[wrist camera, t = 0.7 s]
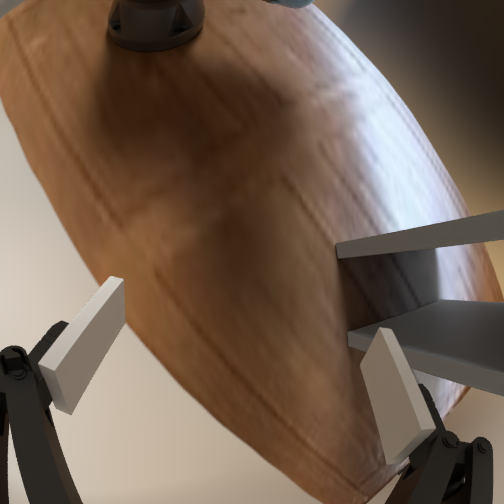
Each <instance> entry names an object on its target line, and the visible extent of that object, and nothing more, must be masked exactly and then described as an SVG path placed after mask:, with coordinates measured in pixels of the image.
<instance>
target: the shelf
mask: <svg viewBox="0 0 504 504" xmlns="http://www.w3.org/2000/svg"><path fill="white" fill-rule="evenodd" d="M503 239H504V210H500V211H496V212H491V213H486V214H481V215H477V216H471V217H466V218H461V219H456V220H452V221H447V222H442V223H437V224H432V225H427V226H422V227H417V228H412V229H407V230H402V231H397V232H392V233H387V234H382V235H376V236H371V237H366V238H361V239H356V240H351V241H346V242H341V243H336V249H337V255H338V259H339V258H348V257H358V256H367V255H376V254H386V253H395V252H404V251H412V250H421V249H430V248H438V247H447V246H455V245H464V244H472V243H480V242H488V241H495V240H503ZM379 327H381V328H388V329H392V331H393V333H394V335H395V337H396V339H397V341H398V343H399V345H400V347H401V349H402V351H403V354H404V356H405V358H406V360H407V362H408V364H409V366H410V368H413V369H416V370H419V371H422V372H425V373H428V374H431V375H434V376H437V377H440V378H443V379H447V380H450V381H453V382H456V383H459V384H463V385H466V386H469V387H473V388H476V389H480V390H483V391H487V392H490V393H494V394H498V395H501V396H504V302H481V301H461V300H444V299H441V300H439V301H436V302H434V303H431V304H428V305H426V306H423V307H420V308H418V309H415V310H412V311H409V312H407V313H404V314H401V315H398V316H395V317H392V318H390V319H387V320H384V321H381V322H378V323H375V324H371V325H368V326H365V327H362V328H359V329H356V330H352V331H349V332H347V335H348V346H350V347H353V348H356V349H358V350H361V351H364V352H367V351H368V349H369V347H370V345H371V343H372V341H373V339H374V337H375V335H376V333H377V331H378V329H379Z"/></svg>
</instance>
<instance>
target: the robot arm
mask: <svg viewBox="0 0 504 504" xmlns="http://www.w3.org/2000/svg"><path fill="white" fill-rule="evenodd" d="M263 1H266V2H267V3H271V4H279V5H282V6H286V7H289V8H295V9H296V8H303V7H305V6H307V5H309V4H311V3H312V2H313V1H315V0H263ZM204 16H205V6H204V3H203V0H113V3H112V6H111V9H110V13H109V16H108V27H109V33H110V36H111V38H112V39H113V40H114V41H115V42H116V43H117V44H118V45H120V46H122V47H124V48H127V49H130V50H134V51H143V52H151V51H161V50H166V49H170V48H173V47H176V46H179V45H181V44H183V43H185V42H187V41H189V40H190V39H192V38H193V37H194V36H195V35H196V34H197V33H198V32H199V31H200V29H201V27H202V25H203V21H204ZM124 324H125V304H124V279H121V278H117V277H113V276H110V277H109V278H108V279H107V280H106V281H105V283H104V284H103V285H102V286H101V287H100V288H99V289H98V290H97V292H96V293H95V294H94V295H93V296H92V297H91V299H90V300H89V301H88V302H87V303H86V304H85V306H84V307H83V308H82V309H81V311H80V312H79V313H78V314H77V315H76V316H75V318H74V319H73V320H72V321H71V322H70V323H67V322H64V321H60V322H58V323H56V324H55V325H53V326H52V327H51V328H50V329H49V330H48V331H47V333H46V335H44V336H43V338H42V339H41V340H40V341H39V342H38V343H37V345H36V346H35V347H34V348H33V350H32V351H31V352H30V353H29V354H28V355H27V353H26V351H25V350H24V349H23V348H22V347H20V346H9V347H6V348H4V349H3V350H2V351H1V352H0V504H9V497H8V463H7V461H8V436H9V422H10V428H11V434H12V439H13V444H14V448H15V453H16V458H17V462H18V465H19V470H20V473H21V477H22V481H23V484H24V488H25V491H26V494H27V497H28V500H29V503H30V504H83V503H82V501H81V498H80V496H79V494H78V492H77V489H76V487H75V485H74V482H73V479H72V477H71V474H70V472H69V469H68V466H67V463H66V461H65V458H64V455H63V452H62V449H61V446H60V443H59V440H58V437H57V433H56V430H55V426H54V423H53V419H52V415H51V411H50V409H49V405H50V404H51V402H52V400H53V403H54V405H55V407H56V409H58V410H60V411H63V412H65V413H68V414H70V415H72V413H73V411H74V409H75V407H76V406H77V404H78V402H79V400H80V398H81V397H82V395H83V393H84V391H85V389H86V388H87V386H88V384H89V382H90V380H91V379H92V377H93V375H94V374H95V372H96V370H97V369H98V367H99V365H100V363H101V362H102V360H103V358H104V357H105V355H106V353H107V352H108V350H109V348H110V347H111V345H112V343H113V342H114V340H115V338H116V337H117V335H118V334H119V332H120V330H121V329H122V327H123V326H124ZM360 368H361V371H362V374H363V378H364V381H365V385H366V388H367V391H368V395H369V398H370V402H371V405H372V409H373V413H374V416H375V420H376V424H377V427H378V431H379V435H380V439H381V443H382V447H383V451H384V455H385V459H386V463H387V465H389V464H398V463H402V462H403V461H404V460H405V459H406V458H407V457H408V456H409V460H410V463H408V464H407V465H406V466H405V467H404V468H403V469H402V470H400V471H399V473H398V475H400V474H401V473H402V472H403V473H402V475H401V477H400V479H399V480H398V482H397V484H396V485H395V487H394V489H393V491H392V492H391V494H390V496H389V497H388V499H387V501H386V503H385V504H492V501H493V449H492V445H491V443H490V442H489V441H488V440H487V439H486V438H484V437H477V438H476V439H474V441H472V442H471V443H466V442H461V441H459V438H458V437H457V436H456V435H455V434H454V433H453V432H450V431H446V429H445V427H444V425H443V422H442V420H441V418H440V415H439V413H438V411H437V408H435V404H434V401H432V400H433V399H432V397H431V395H430V393H429V391H428V390H427V389H426V387H425V386H424V385H423V384H417V382H416V379H415V377H414V375H413V373H412V371H411V368H410V366H409V364H408V362H407V360H406V358H405V356H404V354H403V351H402V349H401V347H400V345H399V343H398V341H397V339H396V337H395V335H394V333H393V331H392V329H388V328H381V327H379V329H378V331H377V333H376V335H375V337H374V339H373V341H372V343H371V345H370V347H369V349H368V351H367V353H366V354H365V356H364V358H363V360H362V362H361V364H360ZM464 478H465V483H464Z"/></svg>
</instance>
